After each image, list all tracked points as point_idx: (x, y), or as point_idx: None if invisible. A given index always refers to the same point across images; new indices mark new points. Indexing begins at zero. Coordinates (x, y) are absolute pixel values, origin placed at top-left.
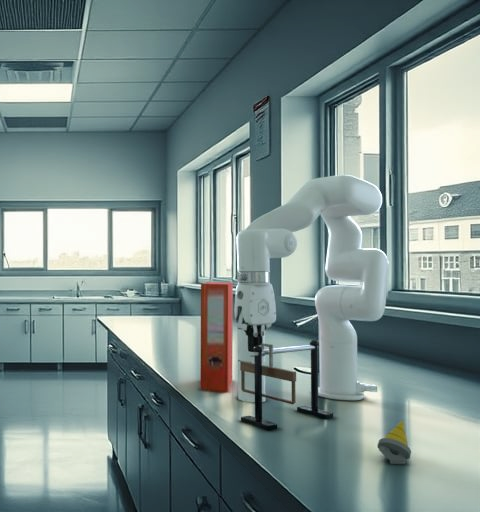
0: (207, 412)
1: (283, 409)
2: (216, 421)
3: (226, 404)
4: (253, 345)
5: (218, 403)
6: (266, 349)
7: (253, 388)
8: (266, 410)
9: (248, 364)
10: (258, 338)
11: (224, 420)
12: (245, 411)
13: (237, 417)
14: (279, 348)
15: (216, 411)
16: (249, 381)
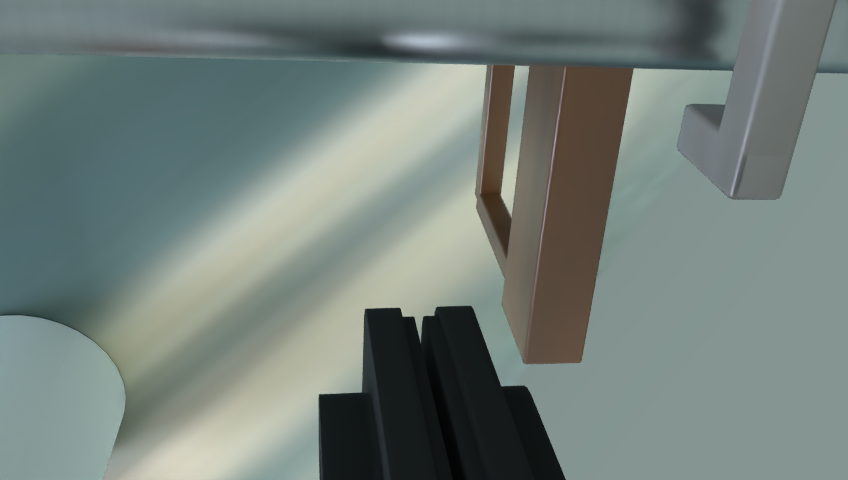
0: None
1: (5, 108)
2: None
3: (304, 368)
4: (537, 418)
5: None
6: (731, 35)
7: (51, 398)
8: (163, 149)
9: (598, 241)
10: (517, 465)
11: (645, 109)
12: (331, 198)
13: (509, 119)
14: (350, 1)
15: None
16: (60, 454)
